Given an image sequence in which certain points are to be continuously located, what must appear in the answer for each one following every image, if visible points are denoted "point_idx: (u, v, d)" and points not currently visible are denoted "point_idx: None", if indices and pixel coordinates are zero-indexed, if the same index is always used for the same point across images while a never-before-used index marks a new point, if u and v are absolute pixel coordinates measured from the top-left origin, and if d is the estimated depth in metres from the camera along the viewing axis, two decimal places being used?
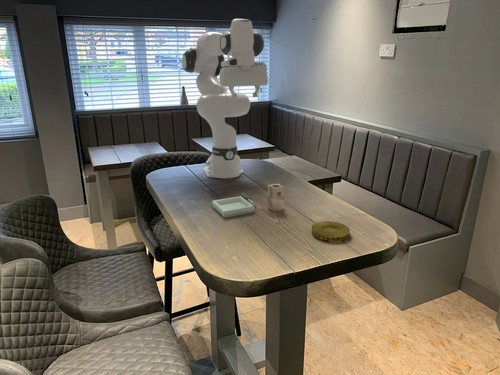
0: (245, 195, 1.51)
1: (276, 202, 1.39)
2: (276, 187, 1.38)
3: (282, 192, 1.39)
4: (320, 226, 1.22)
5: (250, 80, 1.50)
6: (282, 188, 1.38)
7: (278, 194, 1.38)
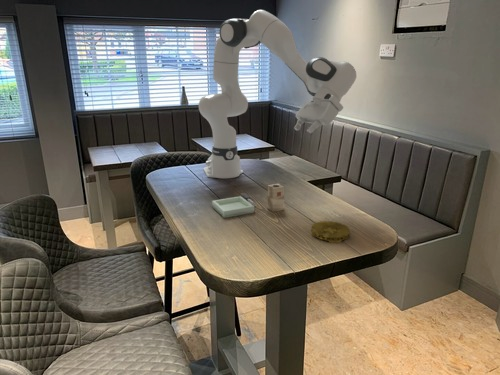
0: (245, 195, 1.51)
1: (276, 202, 1.39)
2: (276, 187, 1.38)
3: (282, 192, 1.39)
4: (320, 226, 1.22)
5: None
6: (282, 188, 1.38)
7: (278, 194, 1.38)
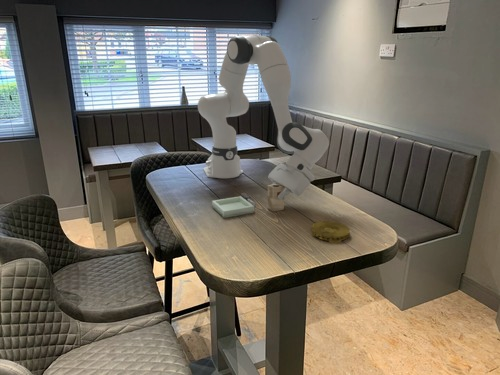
0: (245, 195, 1.51)
1: (276, 202, 1.39)
2: (276, 187, 1.38)
3: None
4: (320, 226, 1.22)
5: None
6: (282, 188, 1.38)
7: None
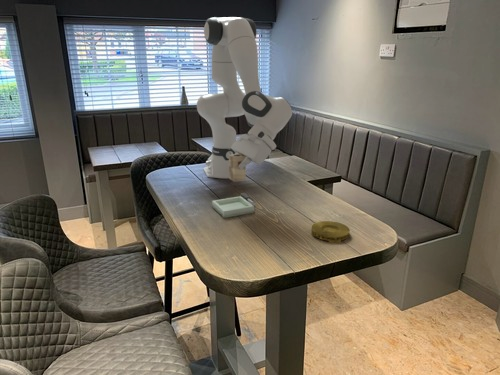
0: (245, 195, 1.51)
1: (237, 172, 1.34)
2: (237, 156, 1.33)
3: None
4: (320, 226, 1.22)
5: None
6: (243, 157, 1.34)
7: None
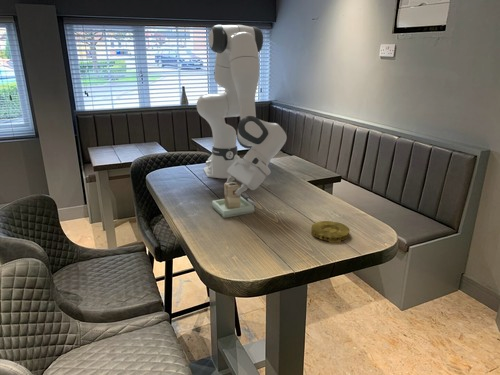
0: (245, 195, 1.51)
1: (232, 201, 1.37)
2: (232, 185, 1.36)
3: None
4: (320, 226, 1.22)
5: None
6: (238, 186, 1.37)
7: (234, 193, 1.37)
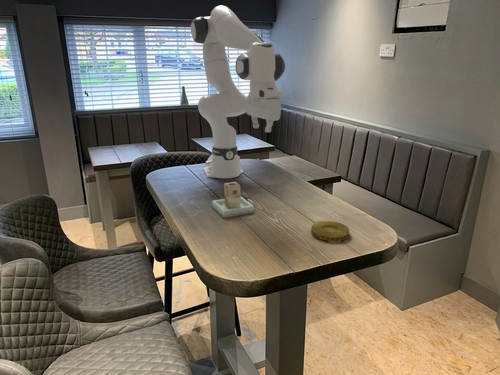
0: (245, 195, 1.51)
1: (232, 201, 1.37)
2: (232, 185, 1.36)
3: (238, 190, 1.37)
4: (320, 226, 1.22)
5: None
6: (238, 186, 1.37)
7: (234, 193, 1.37)
